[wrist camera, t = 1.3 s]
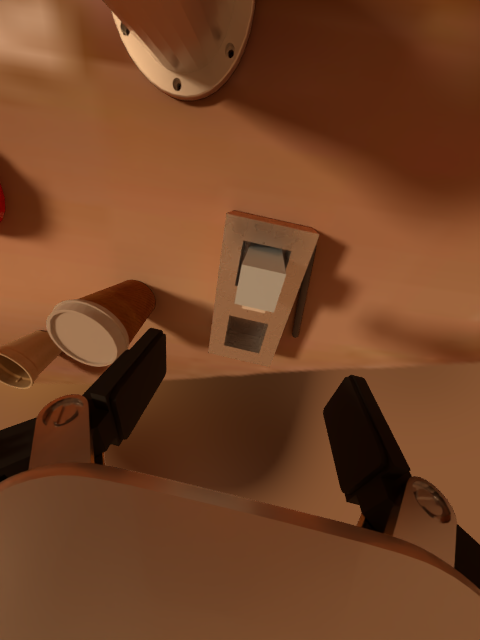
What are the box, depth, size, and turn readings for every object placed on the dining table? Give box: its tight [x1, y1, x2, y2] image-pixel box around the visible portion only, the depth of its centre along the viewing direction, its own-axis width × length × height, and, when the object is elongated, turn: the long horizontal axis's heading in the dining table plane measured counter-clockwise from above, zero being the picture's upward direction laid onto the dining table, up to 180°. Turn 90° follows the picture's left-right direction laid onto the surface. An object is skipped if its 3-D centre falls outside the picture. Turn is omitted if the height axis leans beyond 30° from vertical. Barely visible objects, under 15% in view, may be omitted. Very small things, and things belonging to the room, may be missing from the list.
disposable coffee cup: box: [46, 280, 156, 367], centre depth 29 cm, size 10×10×12 cm
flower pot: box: [0, 330, 62, 389], centre depth 40 cm, size 9×9×9 cm
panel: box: [208, 210, 320, 367], centre depth 29 cm, size 20×10×5 cm, turn 169°
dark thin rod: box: [292, 245, 316, 338], centre depth 30 cm, size 15×1×1 cm, turn 179°
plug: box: [234, 242, 286, 313], centre depth 23 cm, size 5×4×10 cm
